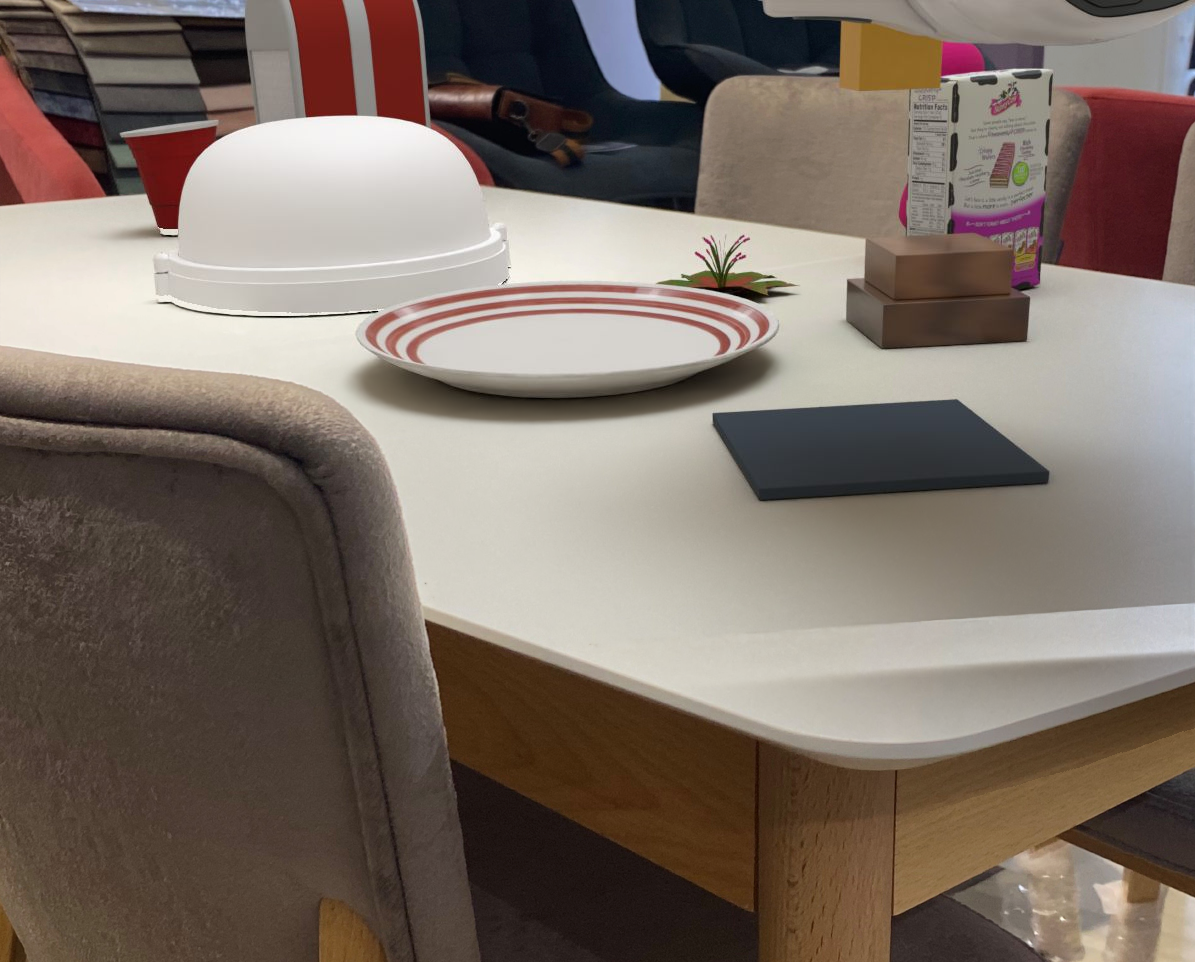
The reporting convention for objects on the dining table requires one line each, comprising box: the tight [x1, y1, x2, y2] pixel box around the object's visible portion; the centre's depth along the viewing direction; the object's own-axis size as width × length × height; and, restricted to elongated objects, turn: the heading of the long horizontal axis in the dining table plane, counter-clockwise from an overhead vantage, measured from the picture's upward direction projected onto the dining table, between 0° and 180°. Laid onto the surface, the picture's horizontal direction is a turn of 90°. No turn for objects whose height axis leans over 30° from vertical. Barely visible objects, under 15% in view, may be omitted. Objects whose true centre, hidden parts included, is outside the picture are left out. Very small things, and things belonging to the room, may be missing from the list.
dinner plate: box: [355, 280, 780, 399], centre depth 94 cm, size 28×27×3 cm
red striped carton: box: [244, 0, 432, 129], centre depth 181 cm, size 16×18×27 cm
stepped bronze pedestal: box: [845, 233, 1031, 350], centre depth 100 cm, size 10×10×6 cm
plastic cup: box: [119, 119, 220, 229], centre depth 161 cm, size 11×11×12 cm
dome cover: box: [152, 116, 512, 313], centre depth 125 cm, size 32×30×14 cm
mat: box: [712, 398, 1050, 501], centre depth 74 cm, size 14×14×1 cm
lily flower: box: [655, 234, 801, 297], centre depth 116 cm, size 12×12×5 cm
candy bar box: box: [905, 68, 1054, 291], centre depth 110 cm, size 11×5×16 cm, turn 126°
